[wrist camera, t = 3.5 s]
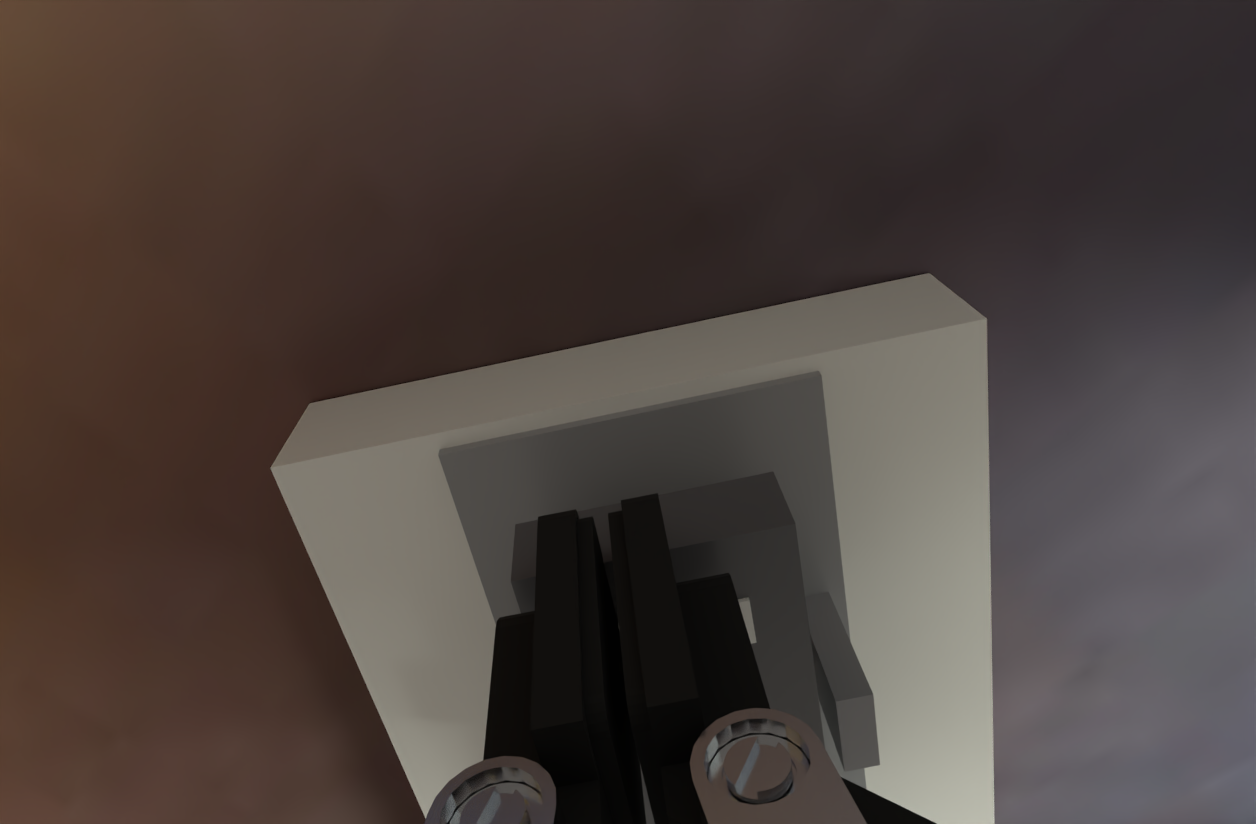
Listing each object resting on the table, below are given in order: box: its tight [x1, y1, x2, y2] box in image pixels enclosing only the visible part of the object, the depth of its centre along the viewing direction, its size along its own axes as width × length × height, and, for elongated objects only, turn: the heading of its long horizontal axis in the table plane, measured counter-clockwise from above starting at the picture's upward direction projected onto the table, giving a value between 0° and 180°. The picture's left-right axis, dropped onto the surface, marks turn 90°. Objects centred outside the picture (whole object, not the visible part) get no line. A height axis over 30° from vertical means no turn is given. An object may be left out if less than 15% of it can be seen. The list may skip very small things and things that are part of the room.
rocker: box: [511, 472, 825, 824], centre depth 15 cm, size 4×9×2 cm, turn 11°
